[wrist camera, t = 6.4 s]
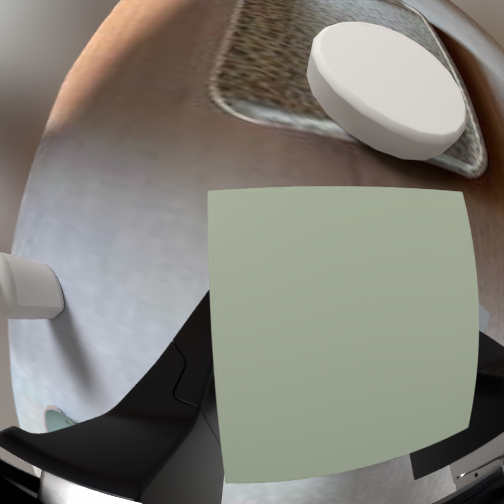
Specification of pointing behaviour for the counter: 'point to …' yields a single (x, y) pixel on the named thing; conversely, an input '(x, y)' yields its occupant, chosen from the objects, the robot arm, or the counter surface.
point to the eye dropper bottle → (28, 289)
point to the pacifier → (56, 419)
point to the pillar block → (339, 326)
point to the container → (386, 90)
